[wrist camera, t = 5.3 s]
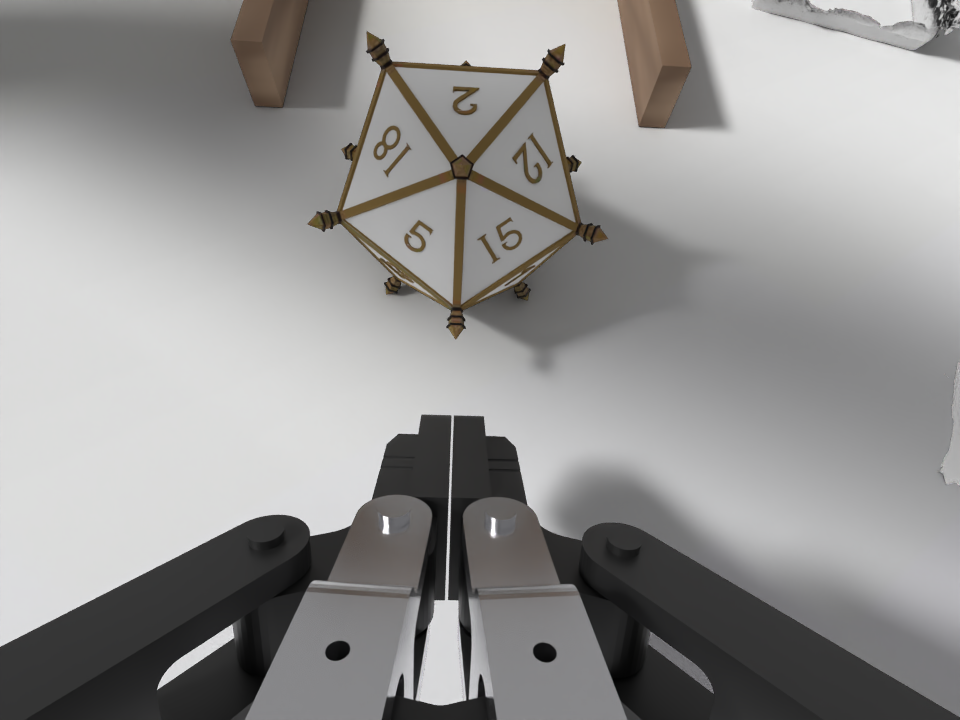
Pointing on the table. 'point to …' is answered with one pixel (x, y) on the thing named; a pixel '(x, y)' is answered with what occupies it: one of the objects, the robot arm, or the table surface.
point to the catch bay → (645, 23)
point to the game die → (460, 179)
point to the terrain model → (954, 438)
